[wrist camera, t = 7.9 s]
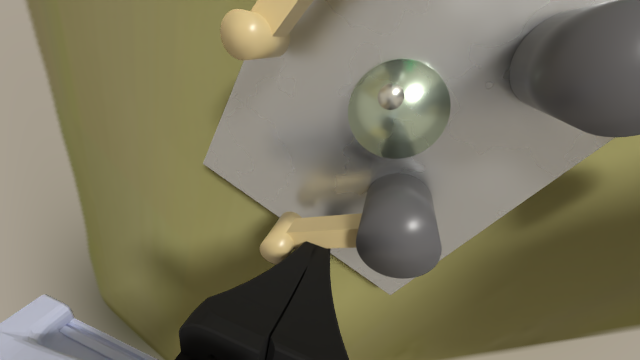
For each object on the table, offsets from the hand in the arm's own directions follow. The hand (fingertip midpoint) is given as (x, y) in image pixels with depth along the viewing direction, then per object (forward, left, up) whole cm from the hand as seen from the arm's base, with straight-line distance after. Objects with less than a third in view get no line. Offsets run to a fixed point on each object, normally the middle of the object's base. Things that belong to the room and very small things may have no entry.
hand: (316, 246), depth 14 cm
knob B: (0, -2, -1) cm, 3 cm away
